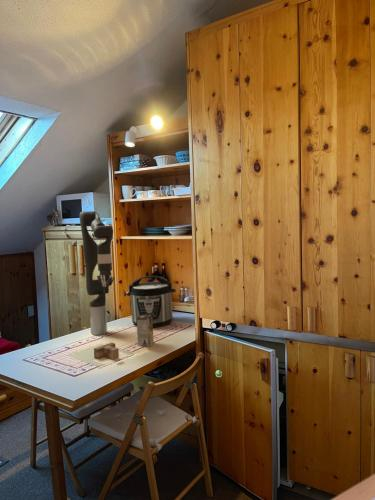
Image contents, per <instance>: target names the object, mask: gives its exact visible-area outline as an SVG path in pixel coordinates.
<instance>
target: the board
mask: <svg viewBox="0 0 375 500" xmlns="http://www.w3.org/2000/svg"><path fill="white" fill-rule="evenodd" d="M102 345H105V344H104V343H98V344H95V345H93V346H92V345H91V346H89V347H87V348H83V349H80V350H78V351H75V352H71V353H67V354H66V356H68V357H70V358H73V359H76V360H79V361H81V362H84V363H87V364H91V365H93V366H96V367H98V369H102V368H104V367H107V366H109V365H112V364H115V363H117V362H119V361H122V360H125V359H127V358H130V357H132V356H134V352H133V351H130V350H129V351H128V350H125V349H121V348H118V347H117V348H118V351H119V358H118V359H115V360H111V359H108V358H105V357H104V358H101V359H95V358H94V348H96V347H99V346H102ZM111 362H112V363H111Z"/></svg>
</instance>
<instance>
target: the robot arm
mask: <svg viewBox="0 0 375 500" xmlns="http://www.w3.org/2000/svg"><path fill="white" fill-rule="evenodd" d="M79 224H80V230H81V236H82V238H81V239H82V246H83V247H82V248H83V250H82V251H83V257H84V266H85V285H86V286H85V287H86V292H87V295H88V296H97V297H95V298H94V299H92V300H90V301H89V309H90V310H89V311H90V318H89V321H90V333H91V335H93V336H102V335H105V334H107V333H108V328H107V327H108V326H107V325H108V324H107V308H106V307H107V305H106V302H107V299H106V298H107V297H106V295H107V294H109V293H110V289H109V288H110V286H112V284H113V283H114V280H115V277H114V276H112V273H111V272H112V270H113V263H112V261H113V259H112V251H111V250H112V249H111V246H112V241H113V240H112V239H113V235H114V229H113V227H112V226H111V225H105V223H103V222H102V219H101V218H100V215H99V214H98V212H97V211H95V210H93V211H91V210H89V211H81V212H80V213H79ZM88 227H90V228H91V230H92V232H93V236H94V238H95V239H98V240H102V239H105V241H103V242H100V243H98V244H97V242H96V241H95V239H94V238H93V237H92V235H91V234H90V232H89V231H88ZM96 267H97V271H98V272H99V275H97V276H96V279H94V278H93V277H94V272H95V269H96Z"/></svg>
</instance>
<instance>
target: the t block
mask: <svg viewBox="0 0 375 500" xmlns="http://www.w3.org/2000/svg"><path fill="white" fill-rule="evenodd" d="M104 357H105V358H108V359H111V360H115V359H117V360H119V359H118V358H119V351H118V347H116V343H114V342H108V343H106V344H105V345H102V346H99V347H96V348H94V358H95V359H101V358H104ZM115 361H116V360H115Z"/></svg>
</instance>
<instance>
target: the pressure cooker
mask: <svg viewBox="0 0 375 500" xmlns="http://www.w3.org/2000/svg"><path fill="white" fill-rule="evenodd" d="M143 279H147V281H146V282H141V281H142V280H143ZM155 279H158V280H159V281H154V280H155ZM140 282H141V283H140ZM172 293H176V288H172V282H171V281H168V279H167V278H164V277H163V276H158V275H146V276H145V275H144V276H142V277H139V278H136V279H135V280H133V281H132V283H131V284H129V285H128V291H126V292H125V295H126V296H129V297H130V307H131V308H130V311H131V321H132V323H133V325H135V327H137V318H138V317H139V316H141V315H152V319H153V328H156V327H163V326H166V325H168V324H171V323H172V320H173V316H174V315H173V301H172V300H173V299H172Z"/></svg>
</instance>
